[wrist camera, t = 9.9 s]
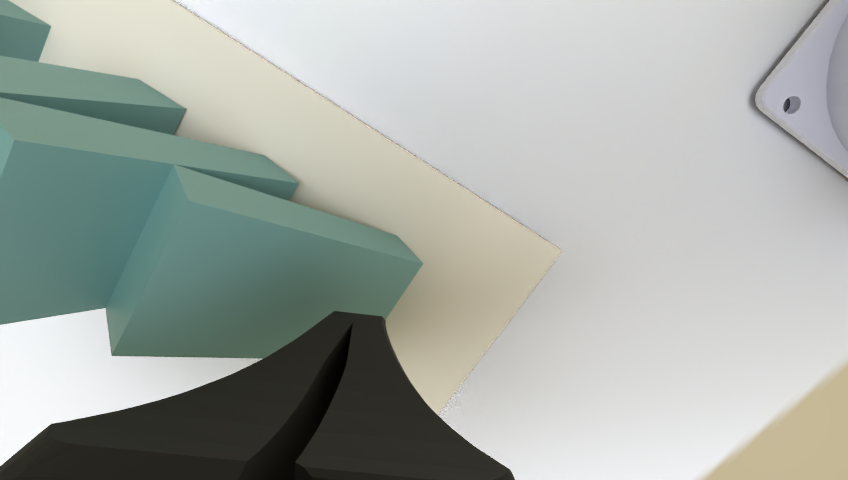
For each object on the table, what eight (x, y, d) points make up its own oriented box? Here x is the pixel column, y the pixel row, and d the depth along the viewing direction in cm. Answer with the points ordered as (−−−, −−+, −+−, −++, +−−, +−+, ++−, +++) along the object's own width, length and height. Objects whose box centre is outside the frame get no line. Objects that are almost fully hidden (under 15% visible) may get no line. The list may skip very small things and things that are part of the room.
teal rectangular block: (185, 108, 13) (-97, 83, 6) (135, 217, 14) (-156, 294, 7) (138, 79, 13) (-197, 22, 6) (91, 190, 14) (-246, 243, 7)
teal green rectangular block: (423, 263, 14) (188, 200, 8) (358, 359, 15) (111, 355, 9) (397, 235, 15) (173, 163, 9) (338, 327, 16) (105, 307, 10)
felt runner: (559, 249, 15) (562, 251, 15) (419, 433, 17) (419, 438, 17) (-263, -279, 11) (-280, -289, 11) (-312, 47, 13) (-329, 46, 13)
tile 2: (299, 183, 13) (14, 139, 7) (241, 285, 14) (-57, 333, 8) (264, 155, 14) (-33, 89, 7) (211, 256, 15) (-94, 279, 8)
